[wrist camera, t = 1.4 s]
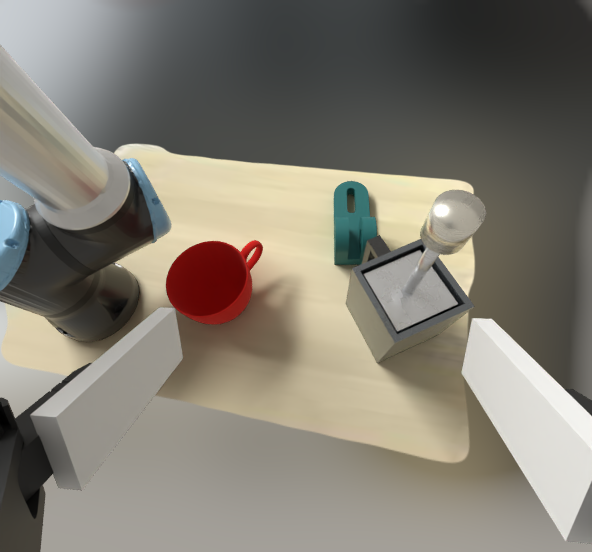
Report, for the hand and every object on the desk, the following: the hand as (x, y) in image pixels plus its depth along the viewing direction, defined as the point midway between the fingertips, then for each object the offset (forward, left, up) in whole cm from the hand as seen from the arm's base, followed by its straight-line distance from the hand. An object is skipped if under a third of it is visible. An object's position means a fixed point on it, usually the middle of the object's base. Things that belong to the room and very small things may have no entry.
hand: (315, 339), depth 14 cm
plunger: (-7, +16, -25) cm, 30 cm away
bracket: (-27, +19, -38) cm, 50 cm away
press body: (-9, +16, -38) cm, 42 cm away
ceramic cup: (-23, -7, -38) cm, 45 cm away
